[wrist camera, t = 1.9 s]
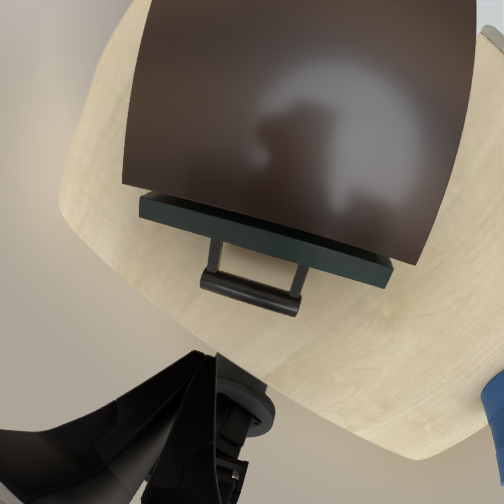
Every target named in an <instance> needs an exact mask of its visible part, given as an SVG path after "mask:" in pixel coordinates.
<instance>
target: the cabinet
mask: <svg viewBox="0 0 504 504" xmlns="http://www.w3.org/2000/svg"><path fill="white" fill-rule="evenodd" d="M476 27H477V0H152V2H151V5H150V9H149V12H148V16H147V20H146V23H145V27H144V31H143V35H142V39H141V44H140V48H139V53H138V57H137V62H136V67H135V73H134V78H133V84H132V90H131V96H130V103H129V110H128V118H127V126H126V135H125V145H124V157H123V172H122V184H125V185H130V186H134V187H138V188H142V189H147V190H151V191H155V192H159V193H163V194H167V195H171V196H176V197H180V198H184V199H188V200H192V201H195V202H199V203H203V204H207V205H211V206H215V207H219V208H222V209H226V210H230V211H234V212H238V213H241V214H245V215H249V216H252V217H256V218H260V219H263V220H267V221H270V222H274V223H277V224H281V225H284V226H288V227H291V228H295V229H298V230H302V231H305V232H309V233H312V234H316V235H319V236H322V237H326V238H329V239H332V240H336V241H339V242H342V243H345V244H349V245H352V246H355V247H358V248H362V249H365V250H368V251H371V252H374V253H377V254H381V255H384V256H387V257H390V258H393V259H396V260H399V261H402V262H405V263H408V264H411V265H416V264H417V262H418V259H419V257H420V255H421V253H422V250H423V248H424V246H425V243H426V241H427V239H428V236H429V234H430V231H431V229H432V226H433V224H434V221H435V219H436V216H437V213H438V211H439V208H440V205H441V202H442V200H443V197H444V194H445V191H446V188H447V185H448V182H449V178H450V175H451V172H452V169H453V165H454V162H455V158H456V155H457V151H458V147H459V143H460V139H461V135H462V131H463V126H464V122H465V117H466V112H467V107H468V102H469V96H470V90H471V83H472V76H473V68H474V58H475V47H476Z"/></svg>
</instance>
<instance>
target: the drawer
mask: <svg viewBox="0 0 504 504" xmlns="http://www.w3.org/2000/svg"><path fill="white" fill-rule="evenodd" d="M139 217H140V218H144V219H147V220H151V221H154V222H158V223H161V224H164V225H168V226H171V227H175V228H178V229H182V230H185V231H189V232H192V233H195V234H199V235H202V236H206V237H209V238H211V243H210V250H209V257H208V264H207V267H206V268H205V269H204V271H203V273H202V276H201V279H200V288H202V289H205V290H208V291H211V292H214V293H217V294H220V295H223V296H226V297H229V298H232V299H235V300H238V301H242V302H245V303H248V304H251V305H254V306H258V307H261V308H264V309H267V310H271V311H274V312H277V313H281V314H284V315H288V316H291V317H296V315H297V313H298V310H299V307H300V304H301V300H302V295H300V293H301V290H302V287H303V284H304V281H305V278H306V275H307V272H308V269H309V267H312V268H315V269H318V270H322V271H325V272H329V273H332V274H335V275H339V276H342V277H346V278H349V279H352V280H356V281H359V282H363V283H366V284H369V285H373V286H376V287H380V288H383V289H385V287H386V285H387V283H388V281H389V279H390V276H391V274H392V272H393V270H394V268H393V266H392V263H391V261H390V258H389V257H387V256H384V255H381V254H377V253H374V252H371V251H368V250H365V249H362V248H358V247H355V246H352V245H349V244H345V243H342V242H339V241H336V240H332V239H329V238H326V237H322V236H319V235H316V234H312V233H309V232H305V231H302V230H298V229H295V228H291V227H288V226H284V225H281V224H277V223H274V222H270V221H267V220H263V219H260V218H256V217H252V216H249V215H245V214H241V213H238V212H234V211H230V210H226V209H222V208H219V207H215V206H211V205H207V204H203V203H199V202H195V201H192V200H188V199H184V198H180V197H176V196H171V195H167V194H163V193H159V192H155V191H151V192H149V193H147V194H145V195H143V196H141V197H140V201H139ZM223 242H226V243H230V244H233V245H237V246H240V247H243V248H247V249H250V250H254V251H257V252H260V253H264V254H267V255H271V256H274V257H278V258H281V259H284V260H288V261H291V262H295V263H298V266H297V269H296V273H295V276H294V279H293V282H292V285H291V288H290V291H286V290H283V289H279V288H276V287H273V286H269V285H266V284H263V283H259V282H256V281H253V280H250V279H246V278H243V277H240V276H236V275H233V274H230V273H227V272H224V271H220V270H218V269H219V265H220V259H221V253H222V247H223Z"/></svg>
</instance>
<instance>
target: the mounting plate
mask: <svg viewBox="0 0 504 504" xmlns="http://www.w3.org/2000/svg"><path fill="white" fill-rule="evenodd" d="M480 33H483V34H484V35H485V36H486V37H487V38H488V39H490V40H491V41H492V42H493V43H494V44H495V45H496V46H497V47H498V48H499V49H500V50H501V51H502V52H503V53H504V0H477V27H476V36H478V35H479V34H480Z"/></svg>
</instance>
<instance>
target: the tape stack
mask: <svg viewBox="0 0 504 504" xmlns="http://www.w3.org/2000/svg"><path fill="white" fill-rule="evenodd" d="M481 399H482V403H483V406H484V409H485V412H486V416H487V420H488V423H489V426H490V427H491V431H492V435H493V439H494V444H495V448H496V457H497V462H498V468H499V474H500V481H501V485H502V486H504V371H502V372H501V373H499V374H498V375H496V376H495V377H494V378H493V379H492V380H491V381H490V382H489V383H488V384H487V385H486V387H485V388H484V390H483V392H482V394H481Z"/></svg>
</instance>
